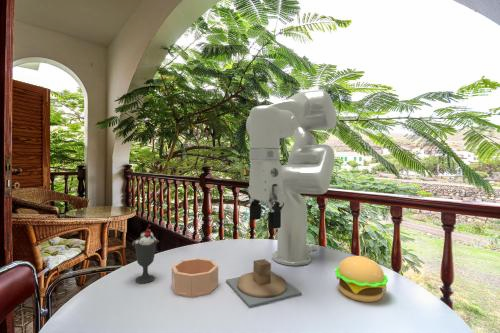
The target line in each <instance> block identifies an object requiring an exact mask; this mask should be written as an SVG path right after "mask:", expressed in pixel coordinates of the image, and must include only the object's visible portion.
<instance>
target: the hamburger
mask: <svg viewBox="0 0 500 333" xmlns="http://www.w3.org/2000/svg"><path fill="white" fill-rule="evenodd" d="M334 273H335V275H336V280H339V281H338V284H337V285H338V289H339V290H340V292H341V293H342V294H343V295H344V296H346V297H348V298H350V299H352V300H354V301H358V302H363V303H373V302H377V301H380V300H381V299H382V298H383V296H384V291H385V292H386V291H387V288H388V287H387V283H388V282H389V280H388V276H387V275H386V274H384V273H385V272H384V271H383V269H382V267H381V266H380V265H379V264H378V263H377V262H376V261H375V260H373V259H370V258H368V257H365V256H362V255H361V256H360V255H353V256H348V257H346V258H344V259H342V260H341V261H340V263H339V265H338V266H337V267H335V270H334Z"/></svg>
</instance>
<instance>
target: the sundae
mask: <svg viewBox="0 0 500 333" xmlns="http://www.w3.org/2000/svg"><path fill="white" fill-rule="evenodd" d="M150 227H151V224H148V226H147V228H146V230H144V231H142V232H141V233H140V236H139V237H138V238H137V239H135V240H133V241H132V243H131V245H132V246H134V248H135V255H136V261H137V264H138V265H139V266H140V267H142V273H141V275H140V276H138V277H137V278H135V279H134V281H135V283H137V284H141V285H142V284H148V283H152V282H153V281H155V279H156V277H155V275H153V274H149V270H148V268H149V266H150V265H152V263H153V262H154V260H155V259H154V258H155V256H156V248H157V245H158V244H159V243H160V240H158V239H157V238H156V237H155V236H154V233H153V232H152V230H151V229H150Z"/></svg>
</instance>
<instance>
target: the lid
mask: <svg viewBox="0 0 500 333" xmlns="http://www.w3.org/2000/svg"><path fill="white" fill-rule="evenodd" d="M252 270H253V271H252V272H248V273H245V274H243V275H240V276H239V279H238V280H237V288H238V290H239V291H240V292H242V293H243V294H245V295H248V296H251V297H256V298H272V297H276V296H279V295H281V294H283V293H284V292H285V291H286V289H287V283H286V282H287V281H286V279H285V278H284V277H282V276H281V275H278V274H276V273H275V274H273V273H271V270H272V263H271V262H270V261H268V260H267V259H265V258H264V259H263V258H262V259H256V260H253V269H252Z"/></svg>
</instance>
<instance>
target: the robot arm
mask: <svg viewBox="0 0 500 333" xmlns="http://www.w3.org/2000/svg"><path fill="white" fill-rule="evenodd" d="M337 121H338V114H337V112H336V108H335V104H334V102H333V99H332V97H331V95H330V94H329V93H328V91H326V90H323V89H319V90H310V91H300V92H296V93H294V94H293V95H292V96H290V97H288V98H287V99H283V100H281V101H278V102H276V103H272V104H270V105H269V104H267V105H257V106H254V107H252V108H251V109H250V112H249V115H248V117H247V119H246V122H245V128H246V132H247V134H248V135H249V162H250V167H249V168H250V169H249V180H248V182H249V183H248V184H249V186H247V193H248V199H249V200H248V204H249V220H251V221H256V220H261V219H262V204H261V203H265V204H266V205H267V206H268V209H269V211H268V212H267V213H268V214H267V216H268V217H267V218H268V220H267V223H268V224H267V227H268V229H269V230H273V229H277V244H276V246H277V249H276V251H274V252H273V253H272V259H273V261H275V262H277V263H279V264H280V265H281V264H282V265H284V266H291V267H292V266H294V267H296V266H297V267H298V266H299V267H300V266H305V265H308V264H310V263H311V261H312V256H311V255H310V253H311V252H312V253H314V252H317V251H318V250H319V248H318V245H311V246H310V244H307V237H308V236H307V234H308V232H307V230H308V228H307V227H308V207H307V203H306V201H305V200H304V198H303V197H302V195H301V194H304V195H305V194H308V195H324V194H326V193H327V192H328V190H329V188H330V184H331V180H332V176H333V171H334V166H335V159H336V158H335V151H334V149H333V147H331V145H328V144H325V143H323V144H318V141H317V139H316V137H315V136H314V135H313V133H311V132H310V131H326V130H327V131H328V130H333V129H334V128H335V127H336V125H337ZM290 137H291V138H292V137H293V138H294V142H293V144H292V147H291V149H290V151H289V155H288V158H287V163H286V164H283V165H282V164H281V161H280V156H281V155H280V152H281V151H280V144H281V142H280V139H287V138H290Z"/></svg>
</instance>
